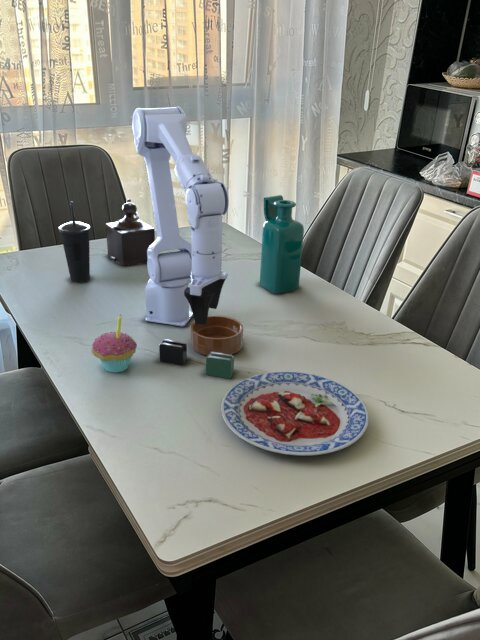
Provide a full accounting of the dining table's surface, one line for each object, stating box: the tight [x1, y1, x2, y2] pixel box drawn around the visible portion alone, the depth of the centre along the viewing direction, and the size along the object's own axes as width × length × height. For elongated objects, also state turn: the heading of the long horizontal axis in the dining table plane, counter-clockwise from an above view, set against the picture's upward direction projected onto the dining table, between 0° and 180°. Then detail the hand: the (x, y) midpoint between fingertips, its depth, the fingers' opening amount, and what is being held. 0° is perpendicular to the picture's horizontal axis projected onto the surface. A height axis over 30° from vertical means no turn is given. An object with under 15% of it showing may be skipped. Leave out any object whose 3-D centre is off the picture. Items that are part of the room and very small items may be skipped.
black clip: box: [158, 338, 188, 366], centre depth 122 cm, size 5×2×4 cm, turn 75°
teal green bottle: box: [259, 194, 305, 294], centre depth 152 cm, size 10×8×22 cm
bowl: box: [190, 315, 244, 357], centre depth 128 cm, size 11×11×4 cm
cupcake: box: [91, 313, 137, 373], centre depth 117 cm, size 9×8×12 cm
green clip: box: [205, 352, 235, 380], centre depth 118 cm, size 5×2×4 cm, turn 75°
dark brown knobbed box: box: [105, 198, 156, 267], centre depth 165 cm, size 16×11×18 cm
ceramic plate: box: [220, 371, 370, 457], centre depth 106 cm, size 26×26×3 cm
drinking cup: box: [58, 200, 91, 284], centre depth 152 cm, size 8×8×20 cm
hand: (206, 315), depth 121 cm, fingers open, 7 cm apart
